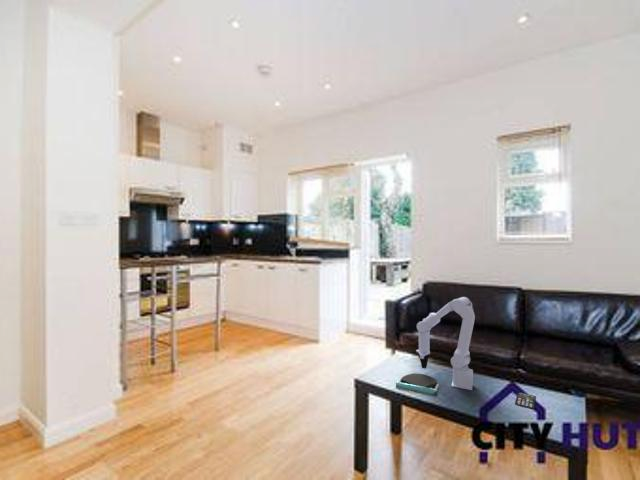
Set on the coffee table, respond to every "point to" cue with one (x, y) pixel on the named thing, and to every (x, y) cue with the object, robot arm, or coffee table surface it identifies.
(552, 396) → the coffee table surface
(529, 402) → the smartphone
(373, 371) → the coffee table surface
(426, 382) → the media streaming box
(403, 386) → the teal tray
